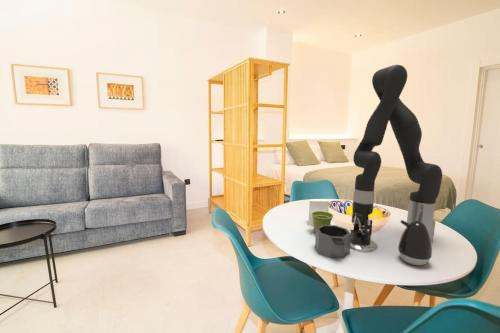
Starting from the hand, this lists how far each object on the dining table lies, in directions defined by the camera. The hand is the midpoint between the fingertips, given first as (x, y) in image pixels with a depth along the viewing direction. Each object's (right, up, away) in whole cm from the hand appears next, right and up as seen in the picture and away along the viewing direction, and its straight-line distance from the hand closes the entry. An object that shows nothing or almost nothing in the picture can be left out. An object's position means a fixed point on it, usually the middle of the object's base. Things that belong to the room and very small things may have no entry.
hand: (359, 238), depth 107 cm
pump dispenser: (+14, -5, -13) cm, 19 cm away
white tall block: (-11, +1, +22) cm, 25 cm away
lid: (0, -3, 0) cm, 3 cm away
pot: (-13, -3, -5) cm, 14 cm away
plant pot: (-13, -1, +12) cm, 17 cm away
